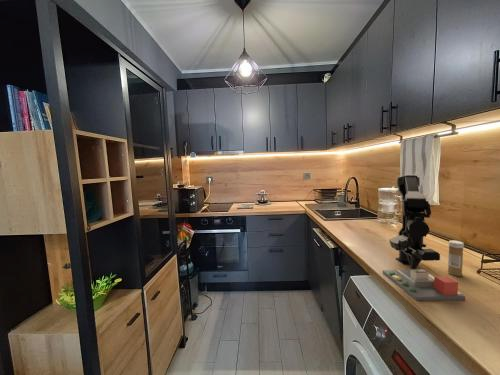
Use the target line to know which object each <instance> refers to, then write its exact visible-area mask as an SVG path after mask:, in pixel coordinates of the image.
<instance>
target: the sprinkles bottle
mask: <svg viewBox="0 0 500 375" xmlns="http://www.w3.org/2000/svg"><path fill="white" fill-rule="evenodd" d="M464 248H465V243H464V242H463V241H460V240H453V239H452V240H449V241H448V259H447V260H448V261H447V265H448V267H447V273H448V274H449V275H451V276H455V277H461V276H463V266H464V265H463V264H464V260H463V259H464V258H463V257H464Z"/></svg>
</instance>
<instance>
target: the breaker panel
mask: <svg viewBox="0 0 500 375" xmlns="http://www.w3.org/2000/svg"><path fill="white" fill-rule="evenodd" d="M411 270H412V269H386V270H385V269H383V270H382V274H383V275H384V276H386V277H387V278H388V279H390V281H392V282H393V283H394V284H395V285H396V286H398V287H399V288H400V289H401V290H403V291H404V292H405V293H406V294H408V295H409V296H410V297H411V298H413V299H414V300H415V301H446V300H447V301H454V300H455V301H456V300H459V301H461V300H463V301H464V300H466V296H465V295H464V294H462V293H461V292H460V291H458V295H443V294H442V293H440V292H439V291H437V290H436V289H434V276H433V275H432V274H430V273H429V275H428V280H415V281H414V280H412V279H411Z"/></svg>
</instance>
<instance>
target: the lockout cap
mask: <svg viewBox="0 0 500 375" xmlns="http://www.w3.org/2000/svg"><path fill="white" fill-rule="evenodd" d="M433 277H434V289H436V290H437V291H439V292H440V293H442V294H443V295H458V292H459V291H458V290H459V281H457V280H455V279H454V278H452V277H450V276H448V275H436V276H435V275H434V276H433Z"/></svg>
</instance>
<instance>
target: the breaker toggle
mask: <svg viewBox="0 0 500 375" xmlns="http://www.w3.org/2000/svg"><path fill="white" fill-rule="evenodd" d="M410 270H411V279H412V280H414V281H415V280H428V275H429V274H430V273H429V272H427V270H425V269H423V268H422V269H421V268H420V269H410Z"/></svg>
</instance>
